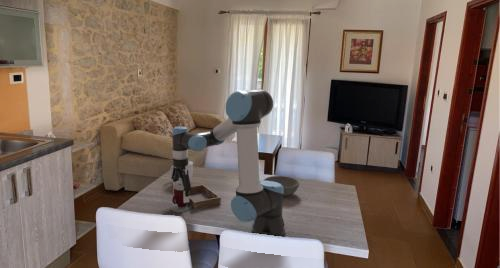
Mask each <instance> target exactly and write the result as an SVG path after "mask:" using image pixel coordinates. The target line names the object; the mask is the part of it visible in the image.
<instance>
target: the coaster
mask: <svg viewBox="0 0 500 268" xmlns="http://www.w3.org/2000/svg"><path fill="white" fill-rule="evenodd" d="M190 209H191V206H190V205H189V204H188V203H187V204H186V206H185V207H178V205H177V204H174V203H173V204H172V205H171V206H170V210H171V211H172V212H173V213H185V212H188V211H190Z"/></svg>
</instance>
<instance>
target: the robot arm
mask: <svg viewBox="0 0 500 268" xmlns="http://www.w3.org/2000/svg"><path fill="white" fill-rule="evenodd" d="M273 108H274V99H273V97H272V95H271V94H270V93H269V92H267V91H266V90H264V89H249V90H248V89H247V90H242V89H241V90H239V91H237V90H236V91H234V92H232V93H231V94H230V95H229V96H228V97H227V100H226V103H225V113H226V116H228V118H226V119H225V120H224V121H222V122H221V123H219V124H218V125H216V126H215V127H214V128H212V129H211V130H208V131H203V132H197V133H192V132H191V133H190V132H189V128H188V127H186V126H175V127H173V128H172V132H171V133H172V134H171V137H172V141H171V142H172V166H173V169H172V176H171V178H170V179H171V180H172V182H173V184H172V188H173V189H172V190H173V191H172V192H173V195H174V187H175V186H177V185H180V184H179V177H180V178H181V180H182V183H183V187H184V190H183V198H184V203H187V202H189V197H190V194H189V190H191V187H192V185H191V181H190V179H189V173H188V170H186V169H185V167H186V166H187V165H188V161H189V158H188V157H189V150H192V151H193V152H202V151H204V149H206V148H208V147H214V146H220V145H222V144H224V143H225V140H226V139H227V138H229V137H230V136H232V135H234V134H235V133H236V149H237V153H236V154H237V168H238V169H237V171H238V172H237V174H238V185H237V187H235V195H234V197H232V199H231V201H230V210H231V211H232V213H233V215H234V217H235V218H236V219H237V220H238V221H240V222H244V223H249V222H252V228H251V230H252V233H253V234H254V233H259V234H267V235H274V236H281V237H282V236H284V234H285V233H286V225H285V221H284V218H283V211H284V210H283V208H284V207H283V206H284V196H283V195H284V188H283V186H282V185H281V184H280V183H277V182H273V181H263V180H261V181H260V163H259V162H260V161H259V160H260V159H259V141H258V140H259V138H258V137H259V136H258V127H259V126H260V125H261V121H262V119H263V118H265V117H266V116H268V115H269V114H270V113H271V112H272V111H273ZM187 204H188V203H187Z"/></svg>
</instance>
